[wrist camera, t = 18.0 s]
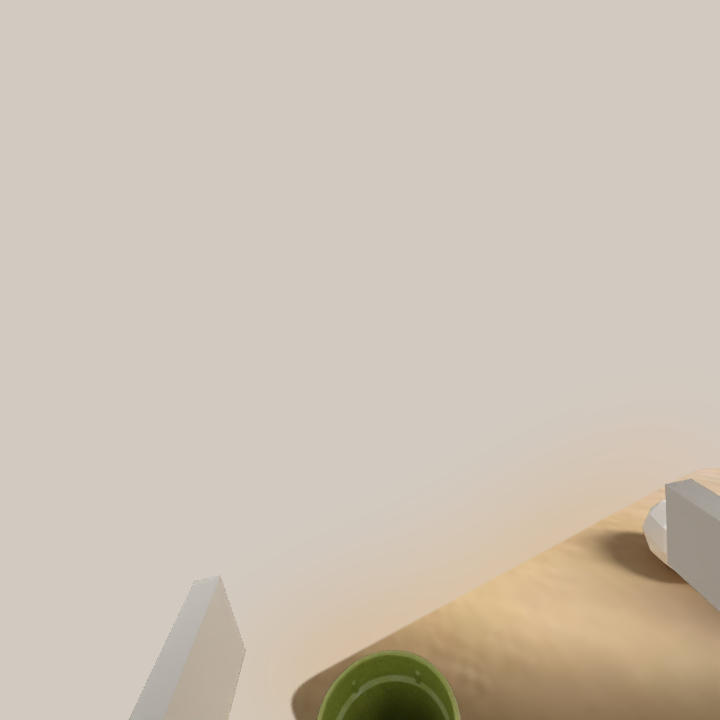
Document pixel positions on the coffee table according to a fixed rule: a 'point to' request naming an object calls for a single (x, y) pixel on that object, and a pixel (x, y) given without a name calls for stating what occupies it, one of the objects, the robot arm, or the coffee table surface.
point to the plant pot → (390, 690)
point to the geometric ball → (657, 531)
